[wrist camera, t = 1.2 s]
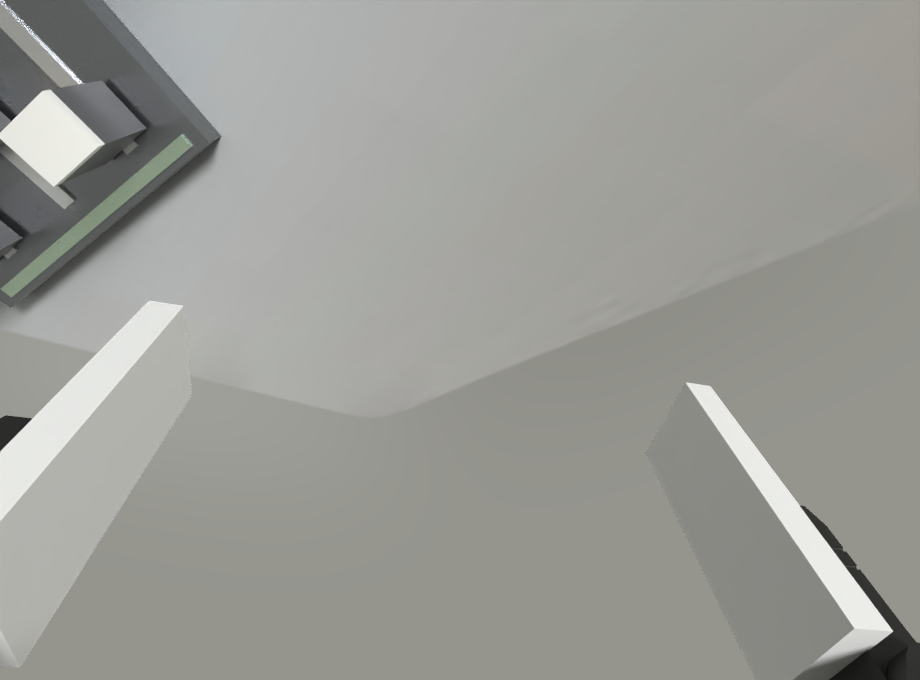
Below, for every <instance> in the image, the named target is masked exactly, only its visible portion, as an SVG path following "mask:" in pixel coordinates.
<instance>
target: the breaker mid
mask: <svg viewBox="0 0 920 680" xmlns="http://www.w3.org/2000/svg"><path fill="white" fill-rule="evenodd" d="M10 122H11V120H9V119H8V118H7V117H6V116H5V115H4V114H3V113H2V112H1V111H0V132H1V131H2V130H3V129H4V128H5V127H6V126H7V125H8V124H9V123H10ZM3 143H4V142H3V141H2V140H1V139H0V146H1V145H2V144H3Z"/></svg>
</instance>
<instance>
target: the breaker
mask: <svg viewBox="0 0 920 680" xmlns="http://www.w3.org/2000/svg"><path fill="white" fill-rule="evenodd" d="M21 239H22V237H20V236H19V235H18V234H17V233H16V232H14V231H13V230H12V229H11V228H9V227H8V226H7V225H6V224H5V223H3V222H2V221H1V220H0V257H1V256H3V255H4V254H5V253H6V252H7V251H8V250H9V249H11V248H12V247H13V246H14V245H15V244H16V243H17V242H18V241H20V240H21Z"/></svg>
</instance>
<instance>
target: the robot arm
mask: <svg viewBox="0 0 920 680" xmlns="http://www.w3.org/2000/svg"><path fill="white" fill-rule="evenodd" d="M191 396H192V389H191V378H190V367H189V356H188V346H187V335H186V325H185V314H184V306H181V305H175V304H168V303H161V302H155V301H148V302H147V303H146V304H145V305H144V306H143V307H142V308H141V309H140V310H139V311H138V312H137V313H136V314H135V315H134V317H133V318H132V319H131V320H130V321H129V322H128V323H127V324H126V325H125V326H124V327H123V328H122V329H121V330H120V331H119V332H118V333H117V334H116V335H115V336H114V337H113V338H112V339H111V340H110V341H109V342H108V343H107V344H106V345H105V346H104V347H103V348H102V349H101V350H100V351H99V352H98V353H97V354H96V355H95V356H94V357H93V358H92V359H91V360H90V361H89V362H88V363H87V364H86V365H85V366H84V367H83V368H82V369H81V370H80V371H79V372H78V373H77V374H76V375H75V376H74V377H73V378H72V379H71V380H70V381H69V382H68V383H67V384H66V386H64V387H63V388H62V389H61V390H60V391H59V392H58V394H56V395H55V397H54V398H53V399H52V400H51V401H50V402H49V403H48V404H47V405H46V406H45V407H44V408H43V409H42V410H41V411H40V412H39V413H38V414H37V415H36V416H35V417H34V418H33V419H32V418H23V417H14V416H4V417H2V418H0V667H21V665H22V664H23V662H24V660H25V659H26V658H27V656H28V654H29V653H30V651H31V650H32V648H33V646H34V645H35V643H36V642H37V640H38V638H39V637H40V635H41V634H42V632H43V630H44V629H45V627H46V626H47V624H48V623H49V621H50V619H51V618H52V616H53V615H54V613H55V611H56V610H57V608H58V607H59V605H60V604H61V602H62V600H63V599H64V597H65V596H66V594H67V592H68V591H69V589H70V588H71V586H72V584H73V583H74V581H75V580H76V578H77V577H78V575H79V573H80V572H81V570H82V569H83V567H84V566H85V564H86V562H87V561H88V559H89V558H90V556H91V554H92V553H93V551H94V550H95V548H96V547H97V545H98V543H99V542H100V540H101V539H102V537H103V535H104V534H105V532H106V531H107V529H108V527H109V526H110V524H111V523H112V521H113V519H114V518H115V516H116V515H117V513H118V511H119V510H120V508H121V507H122V505H123V504H124V502H125V500H126V499H127V497H128V496H129V494H130V492H131V491H132V489H133V488H134V486H135V485H136V483H137V481H138V480H139V478H140V477H141V475H142V474H143V472H144V470H145V469H146V467H147V466H148V464H149V462H150V461H151V459H152V457H153V456H154V454H155V453H156V451H157V450H158V448H159V447H160V445H161V443H162V442H163V440H164V439H165V437H166V435H167V434H168V432H169V431H170V429H171V428H172V426H173V424H174V423H175V421H176V420H177V418H178V416H179V415H180V413H181V412H182V410H183V409H184V407H185V405H186V404H187V402H188V401H189V399H190V397H191ZM645 453H646V455H647V457H648V459H649V461H650V463H651V465H652V467H653V470H654V472H655V474H656V476H657V478H658V480H659V482H660V484H661V486H662V488H663V490H664V492H665V494H666V496H667V498H668V500H669V503H670V505H671V507H672V508H673V511H674V513H675V515H676V517H677V519H678V521H679V523H680V525H681V527H682V529H683V531H684V533H685V535H686V538H687V540H688V542H689V543H690V546H691V548H692V550H693V552H694V554H695V556H696V558H697V560H698V562H699V564H700V566H701V568H702V571H703V572H704V574H705V577H706V578H707V581H708V583H709V585H710V587H711V589H712V591H713V593H714V595H715V597H716V599H717V601H718V604H719V606H720V607H721V610H722V612H723V614H724V616H725V618H726V620H727V621H728V624H729V626H730V628H731V630H732V632H733V634H734V636H735V639H736V641H737V643H738V645H739V647H740V649H741V651H742V653H743V655H744V657H745V659H746V661H747V663H748V665H749V667H750V669H751V672H752V674H753V676H754V678H755V680H920V643H917V642H916V641H915V640H914V639H913V638H912V636H911V635H910V634H909V633H908V631H907V630H906V629H905V628H904V626H903V625H902V624H901V622H900V621H899V620H898V619H897V617H896V616H895V614H894V613H893V612H892V611H891V609H890V608H889V607H888V605H887V604H886V603H885V602H884V600H883V599H882V598H881V596H880V595H879V594H878V592H877V591H876V590H875V588H874V587H873V586H872V585H871V583H870V582H869V581H868V580H867V578H866V577H865V575H864V574H863V573H862V572H861V570H857V568H856V564H855V562H854V561H853V560H852V559H851V557H850V556H849V555H848V553H847V552H844V551H843V550H842V549H843V547H842V546H841V544H840V543H839V542H838V541H837V539H836V538H835V536H834V535H833V534H832V533H831V531H830V530H829V529H828V527H827V526H826V525H825V524H824V523H823V522H821V521H820V520H819V519H818V518H817V517H816V516H815V515H814V514H812V513H811V512H810V511H809V510H808V509H807V508H806V507H804V506H799V504H798V503H797V502H796V500H795V499H794V498H793V496H792V495H791V494H790V492H789V491H788V490H787V488H786V487H785V486H784V484H783V483H782V482H781V480H780V479H779V478H778V476H777V475H776V474H775V472H774V471H773V470H772V468H771V467H770V466H769V465H768V463H767V462H766V460H765V459H764V457H763V456H762V455H761V454H760V452H759V451H758V449H757V448H756V447H755V445H754V444H753V443H752V441H751V440H750V439H749V437H748V436H747V435H746V433H745V432H744V431H743V429H742V428H741V427H740V425H739V424H738V423H737V421H736V420H735V419H734V417H733V416H732V415H731V413H730V412H729V411H728V409H727V408H726V407H725V405H724V404H723V403H722V401H721V400H720V399H719V397H718V396H717V395H716V393H715V392H714V390H713V389H712V388H711V387H710V386H705V385H699V384H692V383H685V384H684V386H683V388H682V390H681V391H680V393H679V395H678V396H677V398H676V400H675V402H674V403H673V405H672V407H671V409H670V410H669V412H668V414H667V416H666V417H665V419H664V421H663V423H662V424H661V426H660V428H659V429H658V432H657V433H656V435H655V436H654V438H653V440H652V442H651V443H650V445H649V447H648V449H647V450H646V452H645Z"/></svg>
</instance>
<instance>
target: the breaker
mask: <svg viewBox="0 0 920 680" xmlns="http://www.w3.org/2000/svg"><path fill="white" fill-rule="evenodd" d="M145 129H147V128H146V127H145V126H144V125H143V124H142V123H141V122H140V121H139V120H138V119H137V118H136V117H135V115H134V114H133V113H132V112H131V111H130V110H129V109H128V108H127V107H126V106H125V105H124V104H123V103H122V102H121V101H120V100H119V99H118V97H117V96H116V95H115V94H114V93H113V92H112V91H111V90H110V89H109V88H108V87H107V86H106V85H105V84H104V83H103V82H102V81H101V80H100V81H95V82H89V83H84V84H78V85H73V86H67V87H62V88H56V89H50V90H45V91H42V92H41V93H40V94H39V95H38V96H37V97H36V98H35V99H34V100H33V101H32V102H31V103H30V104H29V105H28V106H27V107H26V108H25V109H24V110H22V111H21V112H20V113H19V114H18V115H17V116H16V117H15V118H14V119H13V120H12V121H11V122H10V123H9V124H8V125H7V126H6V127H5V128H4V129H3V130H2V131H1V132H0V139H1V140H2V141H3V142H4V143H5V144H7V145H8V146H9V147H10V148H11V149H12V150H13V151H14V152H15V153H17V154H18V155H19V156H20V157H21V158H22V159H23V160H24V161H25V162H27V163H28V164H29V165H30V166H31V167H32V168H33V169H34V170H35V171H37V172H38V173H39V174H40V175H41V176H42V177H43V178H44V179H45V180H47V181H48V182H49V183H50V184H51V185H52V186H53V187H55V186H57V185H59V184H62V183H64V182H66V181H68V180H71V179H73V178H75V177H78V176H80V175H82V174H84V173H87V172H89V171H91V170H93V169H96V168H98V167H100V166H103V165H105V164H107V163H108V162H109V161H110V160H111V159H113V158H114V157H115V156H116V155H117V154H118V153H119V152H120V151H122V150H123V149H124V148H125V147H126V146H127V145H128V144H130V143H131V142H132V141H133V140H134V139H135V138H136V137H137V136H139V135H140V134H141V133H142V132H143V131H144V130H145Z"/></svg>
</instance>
